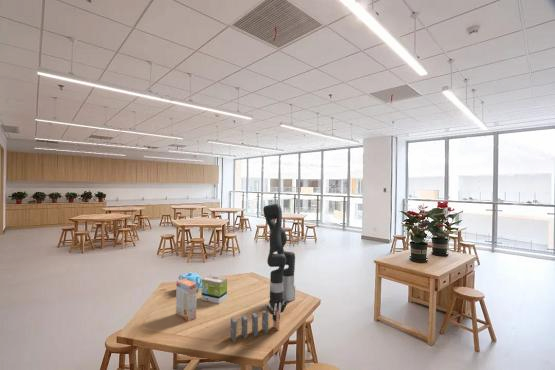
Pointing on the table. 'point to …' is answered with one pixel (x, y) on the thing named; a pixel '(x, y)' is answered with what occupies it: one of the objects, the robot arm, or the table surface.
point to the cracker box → (186, 299)
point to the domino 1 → (233, 329)
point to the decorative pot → (192, 278)
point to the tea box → (214, 289)
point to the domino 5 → (277, 319)
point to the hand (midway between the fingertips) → (276, 320)
